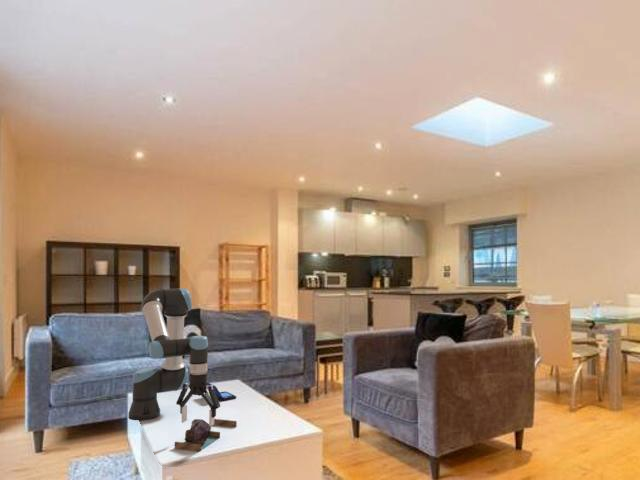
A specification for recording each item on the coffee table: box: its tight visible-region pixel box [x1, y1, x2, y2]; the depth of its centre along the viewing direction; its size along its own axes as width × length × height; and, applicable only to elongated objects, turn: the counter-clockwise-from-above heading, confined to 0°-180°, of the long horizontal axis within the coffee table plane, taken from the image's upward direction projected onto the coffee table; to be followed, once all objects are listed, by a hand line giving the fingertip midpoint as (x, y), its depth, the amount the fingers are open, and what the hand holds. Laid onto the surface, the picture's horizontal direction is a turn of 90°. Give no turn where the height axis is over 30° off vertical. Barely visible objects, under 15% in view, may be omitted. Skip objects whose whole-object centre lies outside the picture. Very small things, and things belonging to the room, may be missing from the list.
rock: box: [183, 418, 212, 446], centre depth 191 cm, size 12×9×10 cm
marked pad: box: [183, 437, 219, 451], centre depth 191 cm, size 12×13×1 cm
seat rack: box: [174, 418, 238, 453], centre depth 199 cm, size 12×31×2 cm, turn 162°
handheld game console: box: [207, 381, 237, 402], centre depth 261 cm, size 16×13×9 cm
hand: (197, 423), depth 192 cm, fingers open, 13 cm apart
